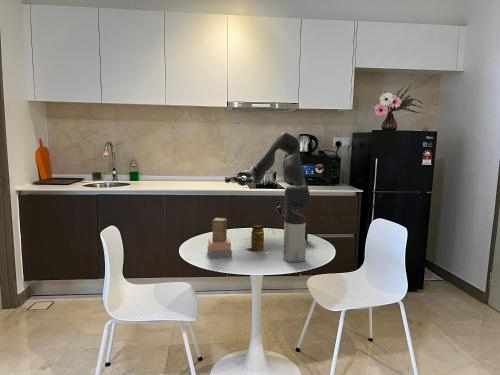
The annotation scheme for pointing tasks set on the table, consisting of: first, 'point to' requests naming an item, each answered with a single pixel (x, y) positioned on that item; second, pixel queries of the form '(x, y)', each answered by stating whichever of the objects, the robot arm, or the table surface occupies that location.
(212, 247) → the tower top
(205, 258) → the table surface
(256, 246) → the condiment
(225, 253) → the tower bottom
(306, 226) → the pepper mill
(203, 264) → the table surface
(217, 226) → the tall block
